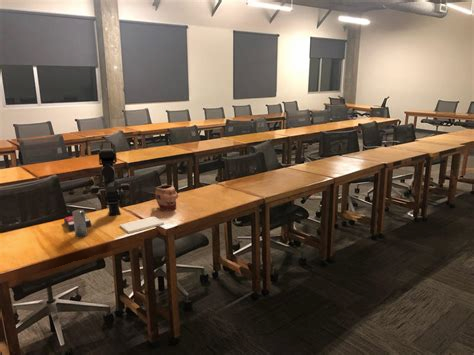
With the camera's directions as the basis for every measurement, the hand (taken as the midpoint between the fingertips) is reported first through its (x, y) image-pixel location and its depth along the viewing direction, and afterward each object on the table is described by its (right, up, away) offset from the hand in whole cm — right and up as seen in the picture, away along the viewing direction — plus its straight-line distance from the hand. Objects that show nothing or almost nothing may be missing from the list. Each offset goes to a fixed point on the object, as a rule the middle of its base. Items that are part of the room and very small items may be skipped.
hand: (112, 204), depth 195 cm
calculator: (-23, -12, +13) cm, 29 cm away
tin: (-15, -15, -1) cm, 22 cm away
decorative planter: (+21, -5, +38) cm, 43 cm away
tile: (+13, -12, +11) cm, 20 cm away
